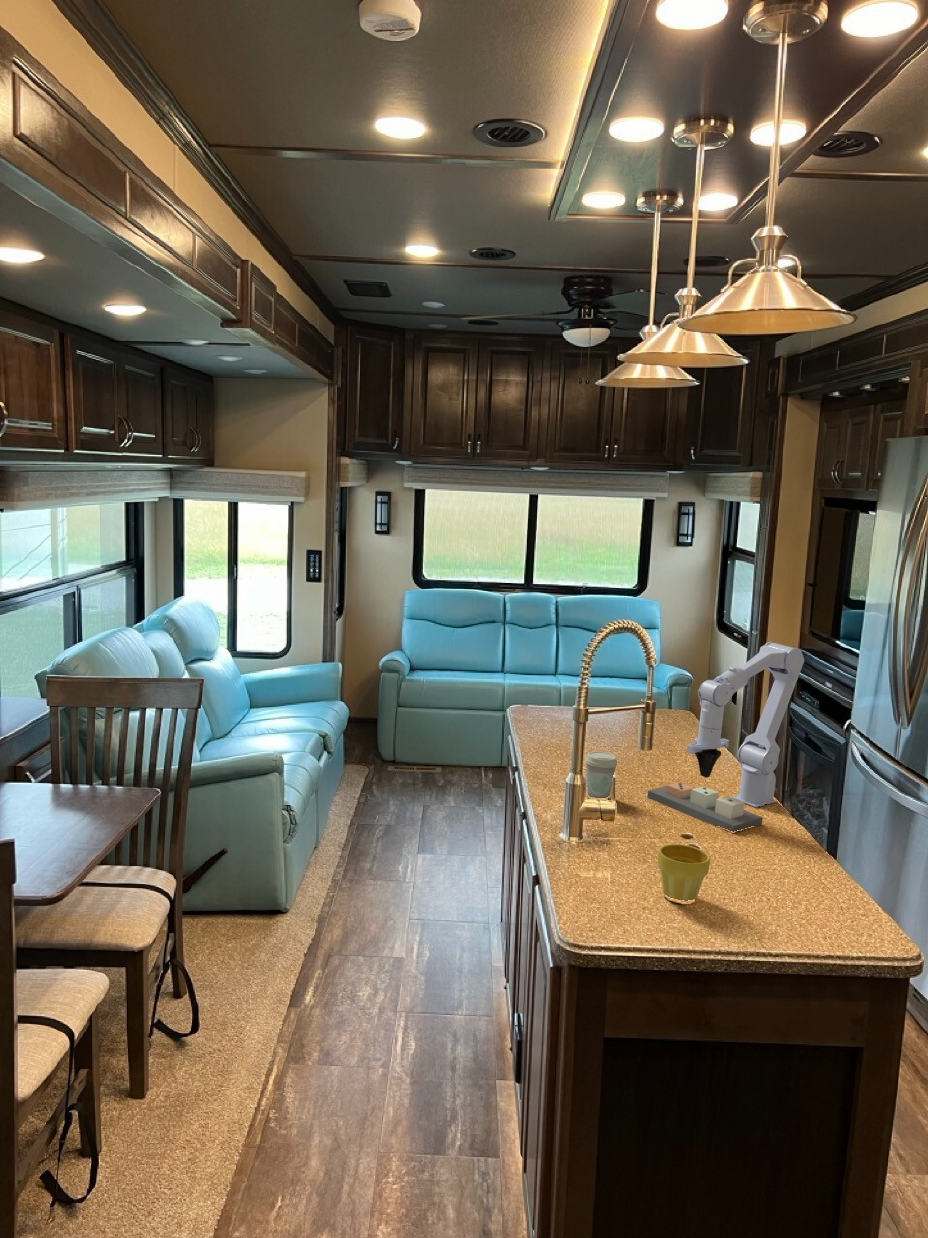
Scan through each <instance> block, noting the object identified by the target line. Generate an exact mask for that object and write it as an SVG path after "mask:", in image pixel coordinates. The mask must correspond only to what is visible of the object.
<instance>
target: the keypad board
mask: <svg viewBox="0 0 928 1238" xmlns="http://www.w3.org/2000/svg"><path fill="white" fill-rule="evenodd" d="M646 797H647V798H648V799H649V800H650V799H651V800H652V801H654V802H658V803H659V804H661V805H665V806H667V807H669V808H672V809H674V810H676V811H679V812H680V813H683V814H686V815H688V816H690V817H693V818H696V819H697V818H698V819H697V820H699V821H702V820H703V821H702V822H704V821H705V823H707V822H708V823H707V824H709V823H710V824H709V825H711V824H713V825H712V826H714V825H715V826H714V827H716V826H720V827H722V828H725V829H728V830H730V831H733V832H734V831H737V830H741V829H745V828H748V827H751V826H756V827H759V826H762V825H763V816H760V815H758V814H755V813H752V812H750V811H748V810H743V816H741V817H737V818H734V819H729V818H727V817H724V816H722V815H719V814H717V813H715V806H714V807H711V808H707V809H705V808H702V807H700V806H697V805H695V804H692V803H690V798H691V797H687V798H683V799H680V798H678V797H675V796H673V795H670V794H668V793H667V785H666V786H661V787H657V788H652V789H649V790H647V796H646ZM761 824H762V825H761ZM758 825H759V826H758Z"/></svg>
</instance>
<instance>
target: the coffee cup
mask: <svg viewBox="0 0 928 1238" xmlns="http://www.w3.org/2000/svg"><path fill="white" fill-rule="evenodd" d="M585 763H586V765H585V767H586V769H585V770H586V789H587V788H588V795H589V796H590V797H595V798H606V797H608V796H609V797H610V796H611V791H612V787H613V782H612V778H613V775H614V776H615V773H616V768H617V766H618V760H617V756H616V755H615V754H613V753H611V752H605V751H597V750H596V751H590V752H588V754H587V756H586V758H585ZM613 779H614V778H613Z"/></svg>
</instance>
